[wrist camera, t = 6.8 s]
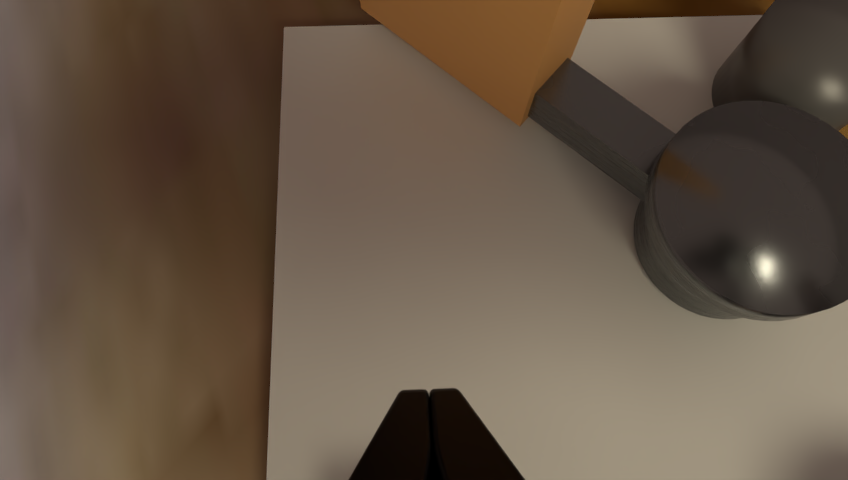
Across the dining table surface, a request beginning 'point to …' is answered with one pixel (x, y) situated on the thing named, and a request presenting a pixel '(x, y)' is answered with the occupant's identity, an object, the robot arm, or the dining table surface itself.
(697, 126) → the brown piece
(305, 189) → the base plate
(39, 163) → the dining table surface
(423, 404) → the robot arm
